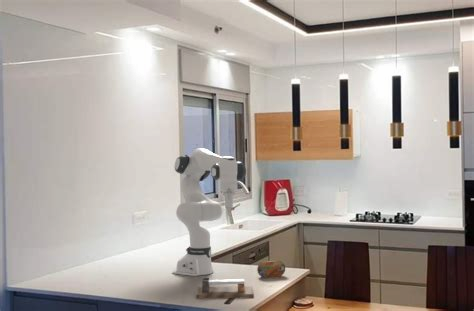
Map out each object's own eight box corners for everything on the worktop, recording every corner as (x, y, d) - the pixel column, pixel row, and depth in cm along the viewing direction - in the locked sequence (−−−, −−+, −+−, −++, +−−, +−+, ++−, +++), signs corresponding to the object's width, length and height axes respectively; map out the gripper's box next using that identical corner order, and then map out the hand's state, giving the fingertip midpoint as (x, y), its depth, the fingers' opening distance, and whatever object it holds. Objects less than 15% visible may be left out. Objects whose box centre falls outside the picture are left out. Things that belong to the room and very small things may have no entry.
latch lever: (204, 284, 249) (204, 282, 249) (204, 282, 253) (204, 280, 253) (244, 283, 249) (244, 281, 249) (244, 281, 253) (244, 278, 253)
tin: (258, 278, 280) (258, 262, 280) (256, 277, 283) (256, 261, 283) (285, 276, 284) (285, 260, 284) (283, 275, 287) (283, 259, 287)
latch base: (196, 298, 244) (196, 283, 244) (198, 290, 258) (198, 275, 258) (253, 297, 244) (253, 282, 244) (252, 289, 258) (252, 274, 258)
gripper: (235, 189, 264) (235, 217, 264) (234, 186, 284) (235, 212, 284) (222, 189, 264) (222, 217, 264) (222, 186, 284) (223, 212, 284)
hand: (229, 215), depth 274 cm, fingers closed
